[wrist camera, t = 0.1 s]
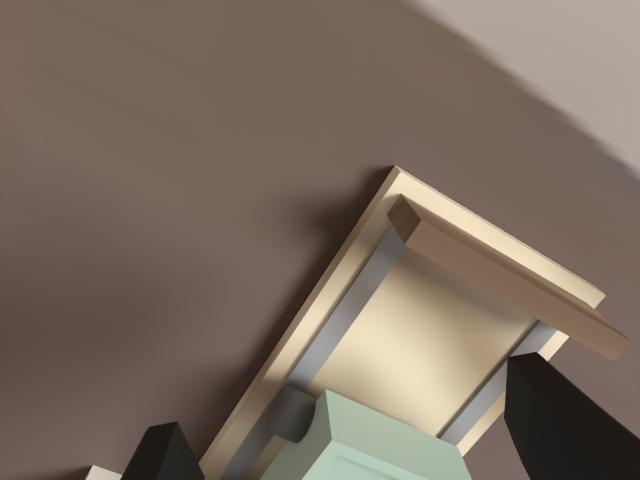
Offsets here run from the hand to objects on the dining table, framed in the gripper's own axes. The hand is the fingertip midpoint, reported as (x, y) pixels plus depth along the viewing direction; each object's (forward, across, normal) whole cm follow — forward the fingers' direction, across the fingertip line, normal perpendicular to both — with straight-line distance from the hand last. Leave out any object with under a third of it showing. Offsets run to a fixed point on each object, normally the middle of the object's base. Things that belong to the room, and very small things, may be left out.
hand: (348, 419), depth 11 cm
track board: (+9, 0, +12) cm, 15 cm away
